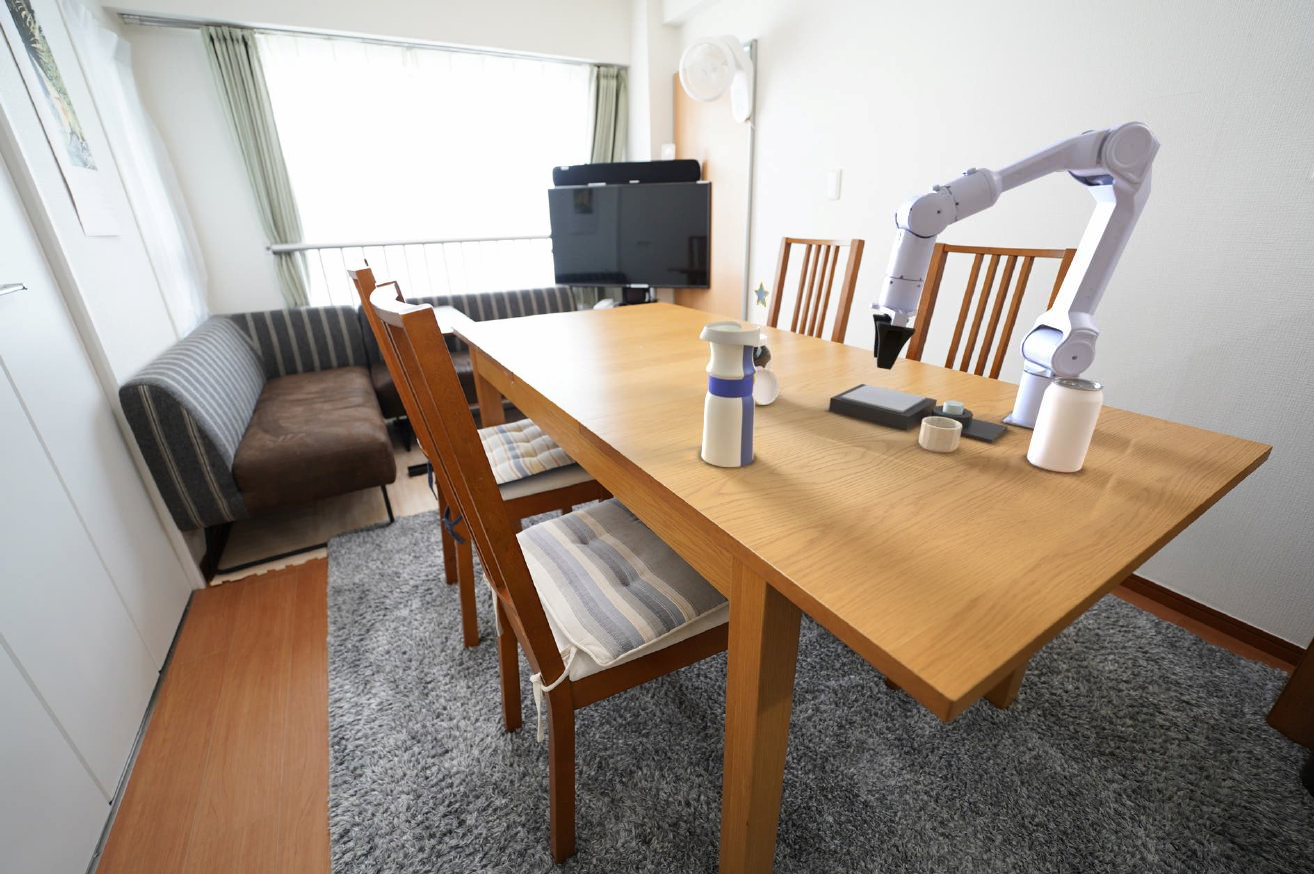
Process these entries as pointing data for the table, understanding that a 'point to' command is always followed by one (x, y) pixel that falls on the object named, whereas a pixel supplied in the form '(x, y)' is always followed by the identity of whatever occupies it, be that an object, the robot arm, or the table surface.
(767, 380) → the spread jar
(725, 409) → the water bottle
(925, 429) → the bowl
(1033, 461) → the can
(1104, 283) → the robot arm
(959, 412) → the button
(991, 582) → the table surface
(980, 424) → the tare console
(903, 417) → the scale
